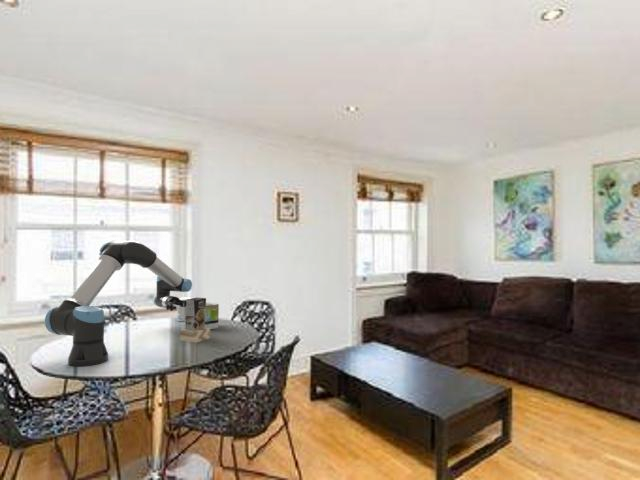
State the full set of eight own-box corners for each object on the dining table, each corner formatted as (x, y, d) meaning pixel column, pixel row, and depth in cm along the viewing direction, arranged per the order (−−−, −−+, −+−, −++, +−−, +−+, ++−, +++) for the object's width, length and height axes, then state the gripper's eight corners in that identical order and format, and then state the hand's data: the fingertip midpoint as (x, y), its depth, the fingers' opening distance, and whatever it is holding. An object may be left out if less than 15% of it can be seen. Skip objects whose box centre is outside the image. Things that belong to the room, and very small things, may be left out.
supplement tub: (192, 318, 271) (193, 297, 271) (191, 321, 262) (191, 299, 262) (177, 319, 269) (178, 297, 269) (175, 322, 260) (176, 299, 260)
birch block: (195, 343, 209) (195, 331, 209) (179, 340, 214) (179, 329, 214) (210, 338, 219) (210, 327, 219) (194, 336, 224) (194, 325, 224)
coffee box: (194, 330, 211) (196, 300, 211) (184, 329, 213) (185, 299, 213) (205, 327, 219) (206, 298, 219) (195, 326, 222) (196, 296, 222)
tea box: (219, 328, 244) (219, 303, 244) (204, 330, 236) (204, 305, 236) (205, 324, 254) (205, 301, 254) (190, 327, 246) (191, 302, 246)
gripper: (190, 306, 243) (210, 310, 229) (150, 311, 224) (169, 317, 210) (190, 294, 243) (211, 297, 229) (150, 298, 224) (169, 302, 210)
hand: (191, 307), depth 220 cm, fingers open, 13 cm apart
